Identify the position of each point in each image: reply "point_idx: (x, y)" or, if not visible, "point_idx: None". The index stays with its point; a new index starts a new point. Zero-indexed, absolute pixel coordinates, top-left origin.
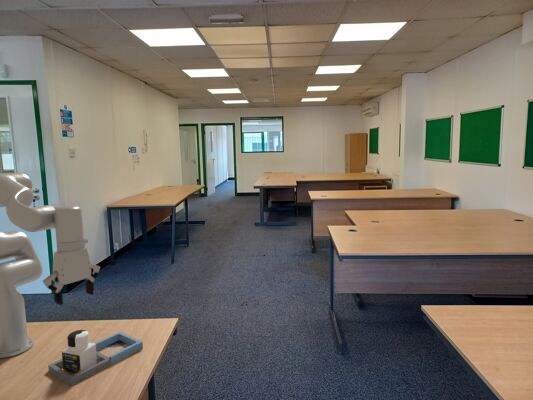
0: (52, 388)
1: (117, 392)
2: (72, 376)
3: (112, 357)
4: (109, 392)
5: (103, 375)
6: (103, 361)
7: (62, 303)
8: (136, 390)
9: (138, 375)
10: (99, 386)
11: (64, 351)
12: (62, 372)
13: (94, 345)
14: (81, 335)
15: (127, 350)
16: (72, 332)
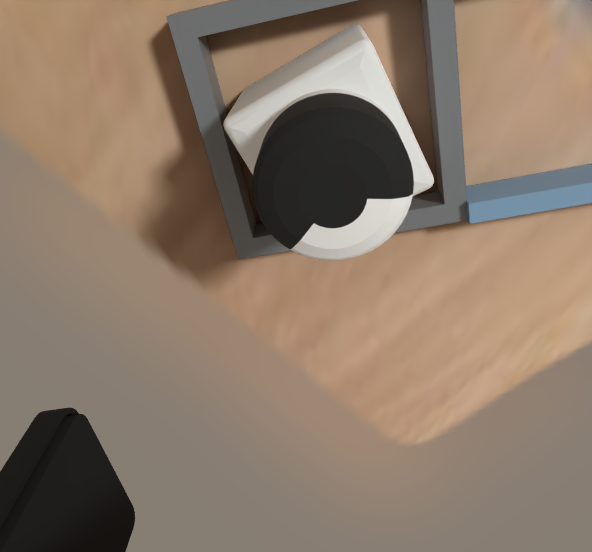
0: (171, 208)
1: (371, 404)
2: (254, 243)
3: (478, 219)
4: (349, 387)
5: (384, 269)
6: (425, 217)
7: (126, 531)
8: (426, 435)
9: (489, 368)
10: (337, 331)
11: (237, 144)
12: (222, 170)
13: (420, 191)
14: (340, 251)
15: (582, 199)
16: (301, 151)
